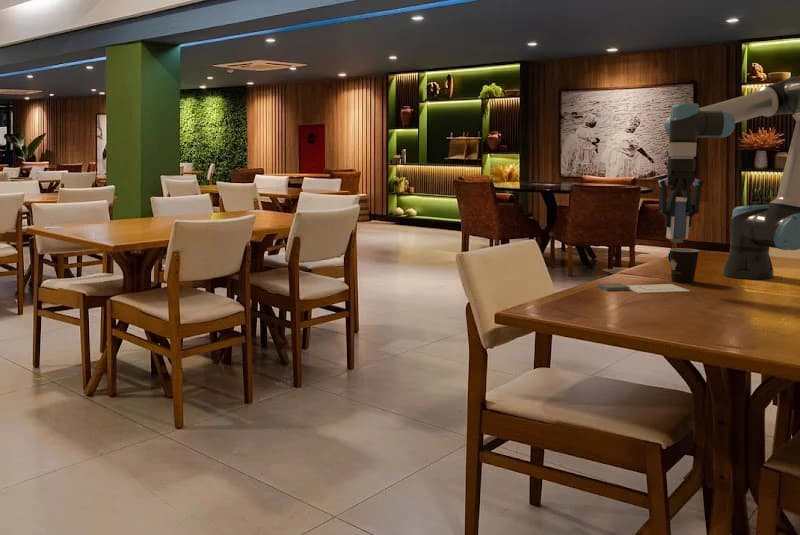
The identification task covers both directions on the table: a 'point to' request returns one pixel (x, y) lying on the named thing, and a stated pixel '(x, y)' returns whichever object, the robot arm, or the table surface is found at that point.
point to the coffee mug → (683, 264)
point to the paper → (657, 288)
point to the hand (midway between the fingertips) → (677, 238)
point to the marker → (679, 219)
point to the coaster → (613, 287)
